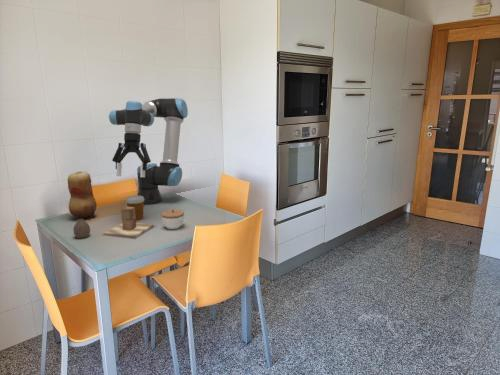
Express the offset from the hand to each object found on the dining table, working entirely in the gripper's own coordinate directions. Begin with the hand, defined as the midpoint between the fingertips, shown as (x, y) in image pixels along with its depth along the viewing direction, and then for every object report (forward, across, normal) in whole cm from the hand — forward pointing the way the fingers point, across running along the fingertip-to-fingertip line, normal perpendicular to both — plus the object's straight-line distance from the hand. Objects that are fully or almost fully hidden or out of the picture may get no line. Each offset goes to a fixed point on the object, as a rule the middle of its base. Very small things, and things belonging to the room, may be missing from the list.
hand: (130, 176), depth 175 cm
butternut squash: (+23, -33, +8) cm, 41 cm away
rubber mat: (+26, +3, -2) cm, 26 cm away
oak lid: (+26, +3, -2) cm, 26 cm away
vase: (+29, -13, -15) cm, 35 cm away
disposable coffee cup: (+22, -4, +13) cm, 26 cm away
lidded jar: (+24, +21, +8) cm, 33 cm away
